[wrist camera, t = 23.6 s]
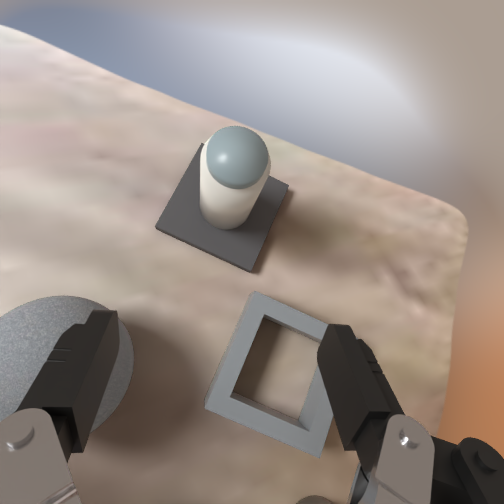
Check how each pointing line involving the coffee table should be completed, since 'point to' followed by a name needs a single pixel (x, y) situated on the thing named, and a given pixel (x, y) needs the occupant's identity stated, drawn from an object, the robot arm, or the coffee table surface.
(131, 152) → the coffee table surface
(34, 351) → the decorative stone
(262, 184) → the cylinder
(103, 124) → the coffee table surface
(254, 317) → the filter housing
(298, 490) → the coffee table surface
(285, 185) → the rubber mat
